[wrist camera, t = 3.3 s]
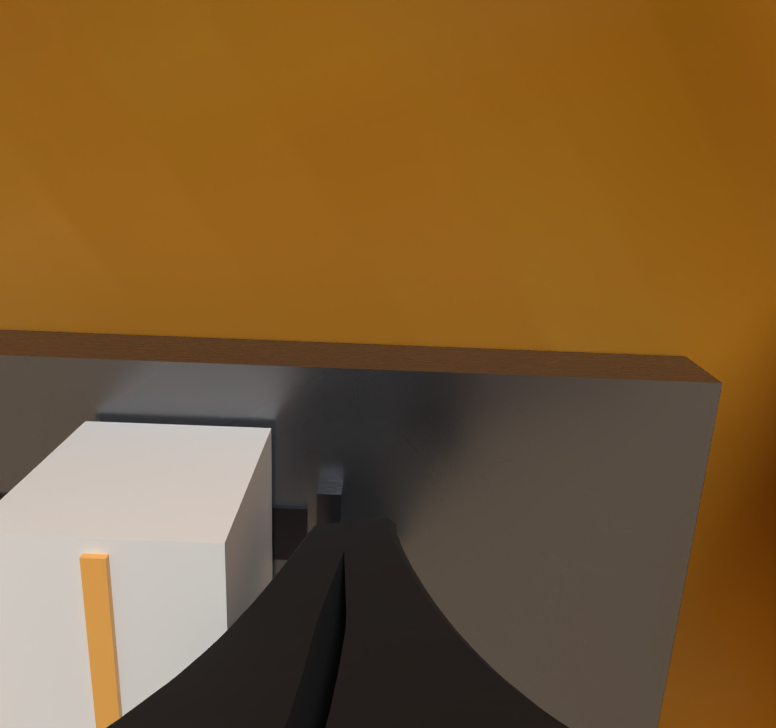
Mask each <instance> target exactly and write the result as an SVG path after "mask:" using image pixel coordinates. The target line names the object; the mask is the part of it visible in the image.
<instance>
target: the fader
mask: <svg viewBox="0 0 776 728" xmlns="http://www.w3.org/2000/svg"><path fill="white" fill-rule="evenodd" d="M271 580H272V453H271V428H255V427H228V426H201V425H175V424H148V423H121V422H94V421H85V422H84V423H83V424H82V425H81V426H80V427H79V428H78V429H77V430H75V431H74V432H73V433H72V434H71V435H70V436H69V437H68V438H67V439H66V440H65V441H64V442H63V443H61V444H60V445H59V446H58V447H57V448H56V449H55V450H54V451H53V452H52V453H51V454H50V455H48V456H47V457H46V458H45V459H44V460H43V461H42V462H41V463H40V464H39V465H38V466H37V467H35V468H34V469H33V470H32V471H31V472H30V473H29V474H28V475H27V476H26V477H25V478H24V479H23V480H21V481H20V482H19V483H18V484H17V485H16V486H15V487H14V488H13V489H12V490H11V491H10V492H8V493H7V494H6V495H5V496H4V497H3V498H2V499H1V500H0V728H106V727H108V726H109V725H111V724H112V723H114V722H115V721H117V720H118V719H120V718H121V717H122V716H124V715H125V714H126V713H128V712H129V711H130V710H132V709H133V708H134V707H136V706H137V705H139V704H140V703H141V702H143V701H144V700H145V699H147V698H148V697H149V696H151V695H152V694H153V693H155V692H156V691H157V690H159V689H160V688H162V687H163V686H164V685H166V684H167V683H168V682H170V681H171V680H172V679H173V678H175V677H176V676H177V675H178V674H179V673H181V672H182V671H183V670H184V669H185V668H186V667H188V666H189V665H190V664H191V663H192V662H193V661H195V660H196V659H197V658H198V657H199V656H200V655H201V654H203V653H204V652H205V651H206V650H207V649H208V648H209V647H210V646H211V645H212V644H213V643H215V642H216V641H217V640H218V639H219V638H220V637H221V636H222V635H223V634H224V633H225V632H226V631H227V630H228V629H229V628H230V627H231V626H232V625H233V624H234V622H235V621H236V620H237V619H238V618H239V617H240V616H241V615H242V614H243V613H244V612H245V611H246V610H247V609H248V607H249V606H250V605H251V604H252V603H253V602H254V601H255V600H256V598H257V597H258V596H259V595H260V594H261V593H262V591H263V590H264V589H265V588H266V586H267V585H268V584H269V583H270V582H271Z"/></svg>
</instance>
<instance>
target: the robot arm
mask: <svg viewBox="0 0 776 728" xmlns="http://www.w3.org/2000/svg"><path fill="white" fill-rule="evenodd" d="M106 728H569V727H567V726H566V725H564V724H563V723H561V722H560V721H558V720H557V719H555V718H554V717H553V716H551V715H550V714H548V713H547V712H545V711H544V710H542V709H541V708H540V707H539V706H537V705H536V704H535V703H534V702H532V701H531V700H530V699H529V698H527V697H526V696H525V695H524V694H522V693H521V692H520V691H519V690H518V689H516V688H515V687H514V686H513V685H511V684H510V683H509V682H508V681H506V680H505V679H504V678H503V677H502V676H501V675H499V674H498V673H497V672H496V671H495V670H494V669H493V668H492V667H491V666H490V665H489V664H488V663H487V662H486V661H485V660H484V659H483V658H482V657H481V656H480V655H479V654H478V653H477V652H476V651H475V650H474V649H473V648H472V647H471V646H470V645H469V644H468V643H467V641H466V640H465V639H464V638H463V637H462V636H461V635H460V634H459V632H458V631H457V630H456V629H455V628H454V627H453V625H452V624H451V623H450V622H449V620H448V619H447V618H446V617H445V615H444V614H443V613H442V611H441V610H440V609H439V607H438V606H437V605H436V603H435V602H434V601H433V599H432V598H431V596H430V595H429V593H428V592H427V590H426V589H425V587H424V586H423V584H422V582H421V581H420V579H419V577H418V576H417V574H416V573H415V571H414V569H413V568H412V566H411V564H410V562H409V560H408V558H407V556H406V554H405V552H404V550H403V548H402V545H401V543H400V540H399V537H398V534H397V528H396V524H395V523H394V522H393V521H392V520H390V519H389V518H382V519H371V520H360V521H349V522H339V523H328V524H317V525H315V526H314V527H313V528H312V529H311V531H310V532H309V533H308V534H307V535H306V537H305V538H304V539H303V541H302V542H301V543H300V545H299V546H298V547H297V549H296V550H295V551H294V553H293V554H292V555H291V557H290V558H289V559H288V560H287V562H286V563H285V564H284V566H283V567H282V568H281V569H280V571H279V572H278V573H277V574H276V576H275V577H274V578H273V579H272V580H271V582H270V583H269V584H268V585H267V586H266V588H265V589H264V590H263V591H262V593H261V594H260V595H259V596H258V597H257V598H256V600H255V601H254V602H253V603H252V604H251V605H250V606H249V607H248V609H247V610H246V611H245V612H244V613H243V614H242V615H241V616H240V617H239V618H238V619H237V620H236V621H235V622H234V624H233V625H232V626H231V627H230V628H229V629H228V630H227V631H226V632H225V633H224V634H223V635H222V636H221V637H220V638H219V639H218V640H217V641H216V642H215V643H213V644H212V645H211V646H210V647H209V648H208V649H207V650H206V651H205V652H204V653H203V654H201V655H200V656H199V657H198V658H197V659H196V660H195V661H193V662H192V663H191V664H190V665H189V666H188V667H186V668H185V669H184V670H183V671H182V672H181V673H179V674H178V675H177V676H176V677H175V678H173V679H172V680H171V681H170V682H168V683H167V684H166V685H164V686H163V687H162V688H160V689H159V690H157V691H156V692H155V693H153V694H152V695H151V696H149V697H148V698H147V699H145V700H144V701H143V702H141V703H140V704H139V705H137V706H136V707H134V708H133V709H132V710H130V711H129V712H128V713H126V714H125V715H124V716H122V717H121V718H120V719H118V720H117V721H115V722H114V723H112V724H111V725H109V726H108V727H106Z"/></svg>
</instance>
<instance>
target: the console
mask: <svg viewBox="0 0 776 728" xmlns="http://www.w3.org/2000/svg"><path fill="white" fill-rule="evenodd" d="M721 387H722V382H720V381H719V380H717V379H716V378H715V377H713V376H712V375H711V374H709V373H708V372H706V371H705V370H704V369H702V368H701V367H699V366H698V365H697V364H695V363H694V362H692V361H691V360H690V359H688V358H687V357H684V356H659V355H633V354H607V353H582V352H556V351H530V350H505V349H479V348H453V347H428V346H402V345H376V344H351V343H325V342H299V341H274V340H248V339H222V338H197V337H171V336H145V335H120V334H94V333H69V332H43V331H17V330H0V500H1V499H2V498H3V497H4V496H5V495H6V494H7V493H8V492H10V491H11V490H12V489H13V488H14V487H15V486H16V485H17V484H18V483H19V482H20V481H21V480H23V479H24V478H25V477H26V476H27V475H28V474H29V473H30V472H31V471H32V470H33V469H34V468H35V467H37V466H38V465H39V464H40V463H41V462H42V461H43V460H44V459H45V458H46V457H47V456H48V455H50V454H51V453H52V452H53V451H54V450H55V449H56V448H57V447H58V446H59V445H60V444H61V443H63V442H64V441H65V440H66V439H67V438H68V437H69V436H70V435H71V434H72V433H73V432H74V431H75V430H77V429H78V428H79V427H80V426H81V425H82V424H83V423H84V422H85V421H94V422H121V423H148V424H175V425H201V426H228V427H255V428H271V453H272V579H273V578H274V577H275V576H276V574H277V573H278V572H279V571H280V569H281V568H282V567H283V566H284V564H285V563H286V562H287V560H288V559H289V558H290V557H291V555H292V554H293V553H294V551H295V550H296V549H297V547H298V546H299V545H300V543H301V542H302V541H303V539H304V538H305V537H306V535H307V534H308V533H309V532H310V531H311V529H312V528H313V527H314V526H315V525H317V524H328V523H339V522H349V521H360V520H371V519H382V518H389V519H390V520H392V521H393V522H394V523H395V524H396V528H397V534H398V537H399V540H400V543H401V545H402V548H403V550H404V552H405V554H406V556H407V558H408V560H409V562H410V564H411V566H412V568H413V569H414V571H415V573H416V574H417V576H418V577H419V579H420V581H421V582H422V584H423V586H424V587H425V589H426V590H427V592H428V593H429V595H430V596H431V598H432V599H433V601H434V602H435V603H436V605H437V606H438V607H439V609H440V610H441V611H442V613H443V614H444V615H445V617H446V618H447V619H448V620H449V622H450V623H451V624H452V625H453V627H454V628H455V629H456V630H457V631H458V632H459V634H460V635H461V636H462V637H463V638H464V639H465V640H466V641H467V643H468V644H469V645H470V646H471V647H472V648H473V649H474V650H475V651H476V652H477V653H478V654H479V655H480V656H481V657H482V658H483V659H484V660H485V661H486V662H487V663H488V664H489V665H490V666H491V667H492V668H493V669H494V670H495V671H496V672H497V673H498V674H499V675H501V676H502V677H503V678H504V679H505V680H506V681H508V682H509V683H510V684H511V685H513V686H514V687H515V688H516V689H518V690H519V691H520V692H521V693H522V694H524V695H525V696H526V697H527V698H529V699H530V700H531V701H532V702H534V703H535V704H536V705H537V706H539V707H540V708H541V709H542V710H544V711H545V712H547V713H548V714H550V715H551V716H553V717H554V718H555V719H557V720H558V721H560V722H561V723H563V724H564V725H566V726H567V727H569V728H658V723H659V717H660V712H661V707H662V701H663V696H664V691H665V685H666V680H667V675H668V669H669V664H670V659H671V653H672V648H673V643H674V637H675V632H676V627H677V621H678V616H679V611H680V605H681V600H682V595H683V589H684V584H685V579H686V573H687V568H688V563H689V557H690V552H691V547H692V541H693V536H694V531H695V526H696V520H697V515H698V510H699V504H700V499H701V494H702V488H703V483H704V478H705V472H706V467H707V462H708V456H709V451H710V446H711V440H712V435H713V430H714V424H715V419H716V414H717V408H718V403H719V398H720V392H721Z"/></svg>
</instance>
